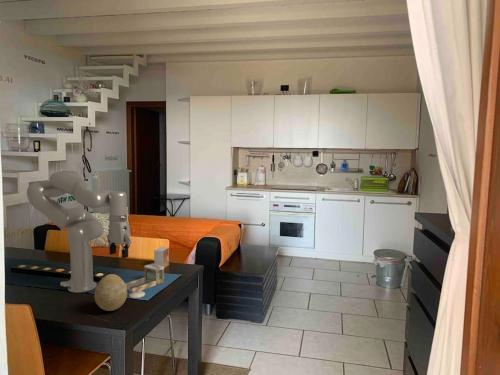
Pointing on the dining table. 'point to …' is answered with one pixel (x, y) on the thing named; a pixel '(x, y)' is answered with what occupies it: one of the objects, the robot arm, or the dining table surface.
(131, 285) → the push bar
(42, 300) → the dining table surface
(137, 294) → the coaster
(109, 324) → the dining table surface
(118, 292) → the fossilized egg
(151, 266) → the tunnel
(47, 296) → the dining table surface
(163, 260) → the small box
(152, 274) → the block
